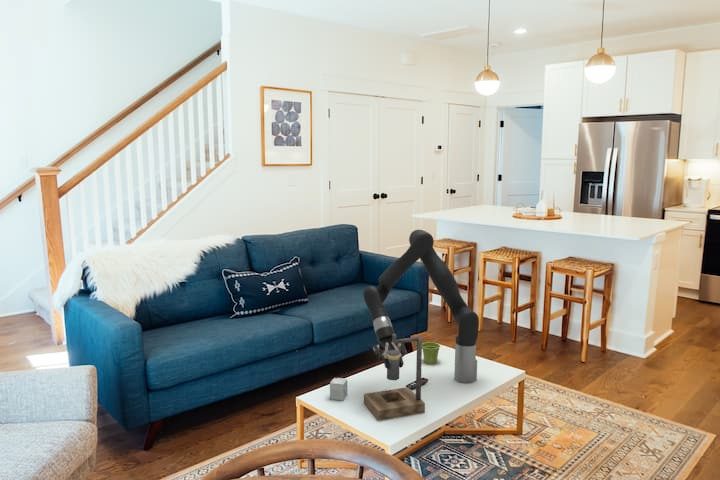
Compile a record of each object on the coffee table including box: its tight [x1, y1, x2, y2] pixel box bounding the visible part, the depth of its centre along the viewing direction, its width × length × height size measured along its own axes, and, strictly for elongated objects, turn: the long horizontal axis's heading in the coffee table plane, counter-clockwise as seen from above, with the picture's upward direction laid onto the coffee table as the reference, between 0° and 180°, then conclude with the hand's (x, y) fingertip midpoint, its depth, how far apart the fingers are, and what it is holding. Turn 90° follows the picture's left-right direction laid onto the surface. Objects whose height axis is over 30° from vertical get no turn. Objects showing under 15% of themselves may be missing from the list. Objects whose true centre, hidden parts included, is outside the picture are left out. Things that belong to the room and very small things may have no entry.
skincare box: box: [329, 377, 348, 401], centre depth 232 cm, size 6×6×7 cm
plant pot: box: [422, 341, 441, 365], centre depth 272 cm, size 9×9×9 cm
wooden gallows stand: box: [363, 333, 426, 422], centre depth 221 cm, size 20×16×32 cm
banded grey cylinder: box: [386, 350, 401, 381], centre depth 222 cm, size 5×5×11 cm
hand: (395, 367), depth 220 cm, fingers closed on banded grey cylinder, 5 cm apart
